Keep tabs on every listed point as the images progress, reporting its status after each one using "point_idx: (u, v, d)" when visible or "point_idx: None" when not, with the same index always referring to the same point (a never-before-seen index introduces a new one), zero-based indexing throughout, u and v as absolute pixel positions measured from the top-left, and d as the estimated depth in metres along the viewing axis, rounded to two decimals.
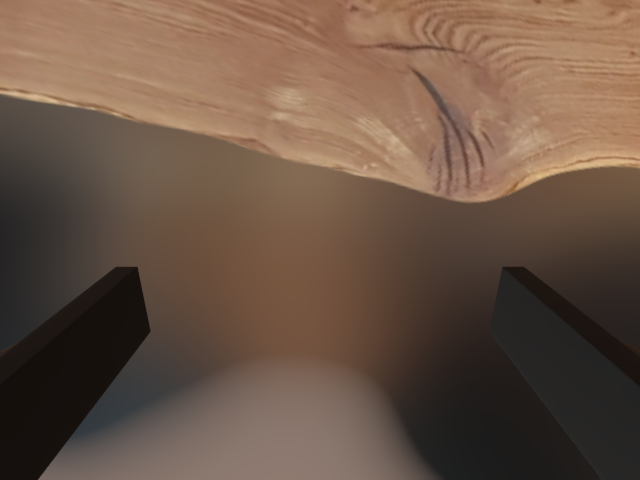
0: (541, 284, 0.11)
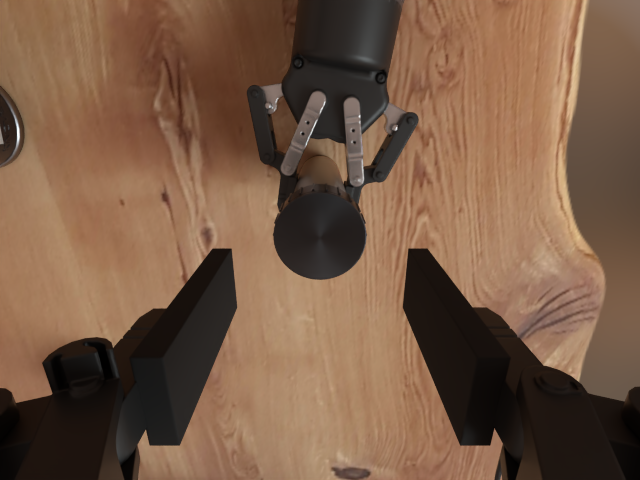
0: (433, 262, 0.13)
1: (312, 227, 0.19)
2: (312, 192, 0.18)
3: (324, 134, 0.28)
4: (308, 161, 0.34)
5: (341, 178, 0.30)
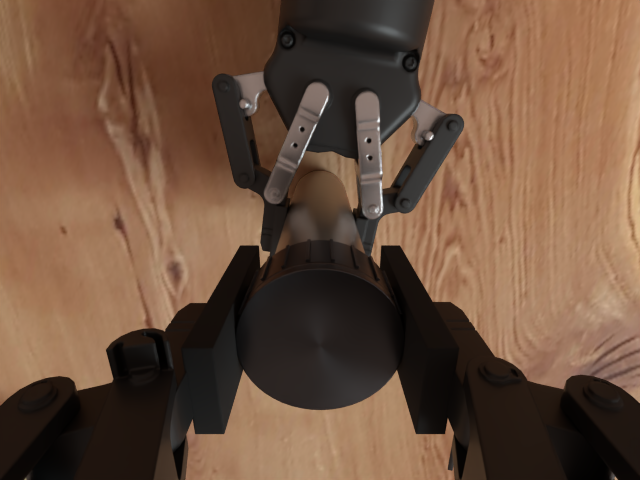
0: (403, 258, 0.13)
1: (306, 327, 0.10)
2: (306, 266, 0.10)
3: (326, 146, 0.19)
4: (304, 179, 0.26)
5: None
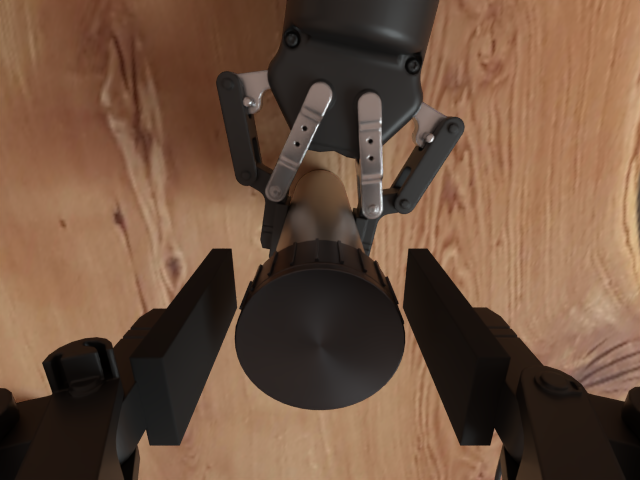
0: (433, 262, 0.13)
1: (296, 352, 0.10)
2: None
3: (328, 145, 0.19)
4: (305, 178, 0.26)
5: None
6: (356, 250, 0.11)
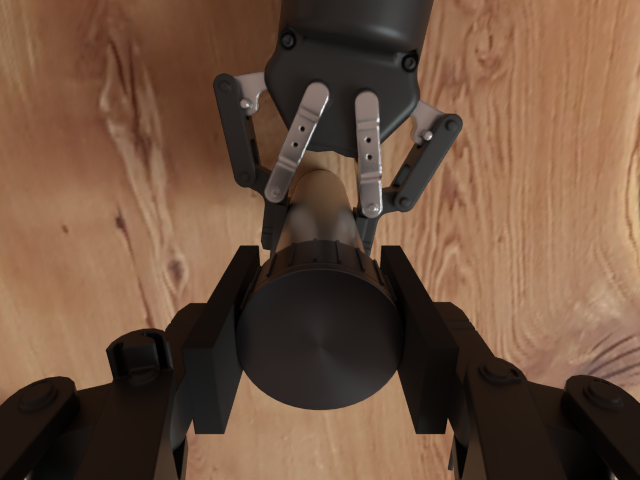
0: (403, 258, 0.13)
1: (297, 352, 0.10)
2: None
3: (326, 145, 0.19)
4: (304, 178, 0.26)
5: (349, 204, 0.22)
6: (355, 249, 0.11)
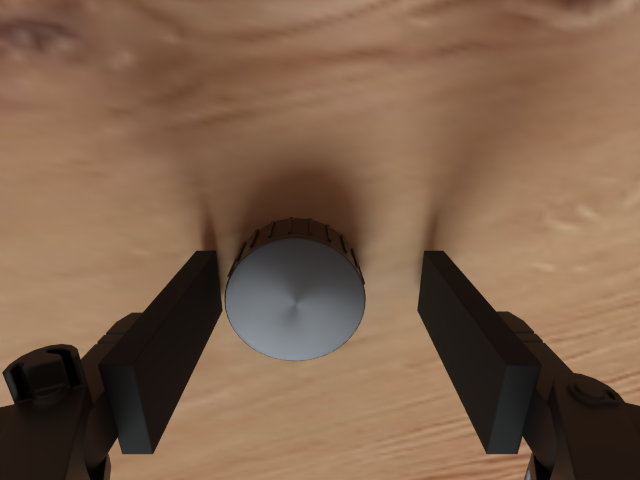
0: (451, 265, 0.12)
1: (276, 310, 0.13)
2: None
3: None
4: None
5: None
6: (324, 226, 0.14)
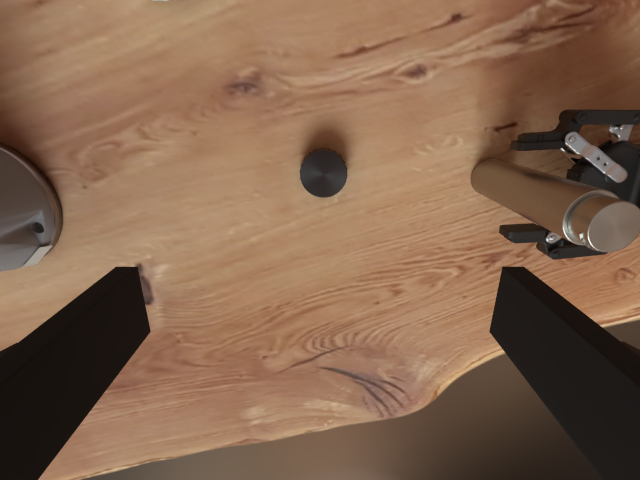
0: (541, 284, 0.11)
1: (317, 177, 0.38)
2: None
3: None
4: None
5: None
6: (333, 151, 0.39)
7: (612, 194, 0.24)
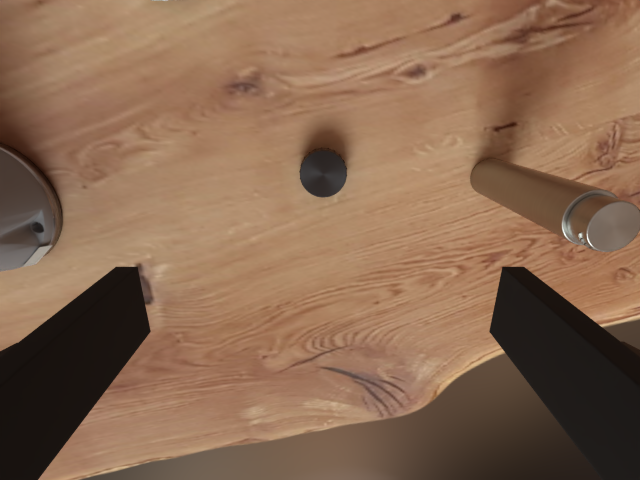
0: (541, 284, 0.11)
1: (316, 176, 0.38)
2: (300, 172, 0.38)
3: None
4: None
5: None
6: None
7: (612, 194, 0.24)
